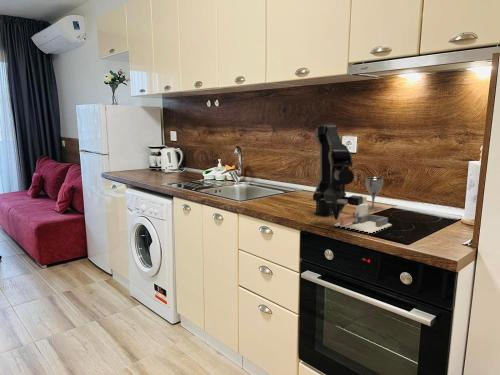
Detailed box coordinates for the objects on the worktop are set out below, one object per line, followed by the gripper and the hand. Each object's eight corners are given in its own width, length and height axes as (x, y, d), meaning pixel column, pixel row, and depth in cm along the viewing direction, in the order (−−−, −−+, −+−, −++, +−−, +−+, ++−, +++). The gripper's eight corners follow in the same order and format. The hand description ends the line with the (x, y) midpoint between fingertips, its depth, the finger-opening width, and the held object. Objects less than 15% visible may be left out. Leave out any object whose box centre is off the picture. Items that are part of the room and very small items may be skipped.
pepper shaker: (363, 216, 163) (364, 195, 161) (367, 218, 159) (369, 197, 158) (355, 216, 162) (356, 195, 161) (359, 219, 159) (360, 197, 157)
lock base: (334, 225, 148) (334, 218, 147) (355, 218, 159) (356, 211, 159) (371, 234, 136) (372, 226, 136) (391, 225, 148) (392, 218, 148)
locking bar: (354, 222, 151) (354, 211, 150) (359, 223, 149) (359, 212, 148) (338, 227, 143) (339, 216, 142) (344, 228, 141) (344, 217, 140)
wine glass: (360, 207, 180) (362, 177, 178) (373, 206, 183) (375, 176, 181) (372, 211, 173) (373, 179, 170) (384, 209, 176) (387, 178, 174)
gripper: (306, 180, 142) (305, 220, 144) (354, 185, 131) (351, 227, 133) (319, 177, 150) (318, 214, 153) (364, 181, 140) (362, 221, 142)
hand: (336, 219), depth 145 cm, fingers closed
